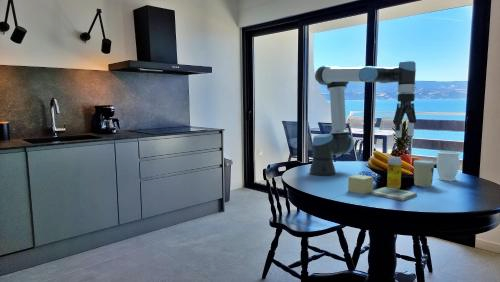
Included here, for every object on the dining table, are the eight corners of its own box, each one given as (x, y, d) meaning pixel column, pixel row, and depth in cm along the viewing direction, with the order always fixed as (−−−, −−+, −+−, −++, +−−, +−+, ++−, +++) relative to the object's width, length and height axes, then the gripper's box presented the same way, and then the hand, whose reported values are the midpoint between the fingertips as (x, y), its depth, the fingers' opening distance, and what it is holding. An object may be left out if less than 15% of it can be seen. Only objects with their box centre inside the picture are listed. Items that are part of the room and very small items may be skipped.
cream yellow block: (348, 191, 157) (348, 176, 157) (357, 188, 162) (358, 174, 162) (363, 194, 151) (363, 179, 150) (372, 191, 156) (373, 176, 155)
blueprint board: (370, 194, 151) (370, 191, 151) (385, 189, 159) (385, 186, 159) (402, 200, 140) (402, 197, 139) (416, 195, 148) (417, 192, 148)
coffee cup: (436, 187, 162) (437, 163, 161) (415, 186, 164) (416, 162, 163) (430, 183, 171) (431, 160, 170) (410, 182, 173) (411, 159, 172)
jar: (462, 180, 176) (464, 152, 174) (449, 182, 172) (450, 153, 171) (444, 176, 186) (445, 150, 184) (431, 178, 182) (432, 151, 180)
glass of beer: (385, 187, 163) (385, 157, 161) (390, 185, 167) (391, 156, 165) (397, 189, 158) (398, 158, 157) (402, 187, 163) (403, 157, 161)
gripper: (402, 92, 152) (400, 138, 154) (424, 93, 168) (422, 135, 170) (386, 93, 157) (385, 137, 159) (409, 94, 174) (407, 134, 176)
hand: (404, 136), depth 165 cm, fingers open, 13 cm apart
